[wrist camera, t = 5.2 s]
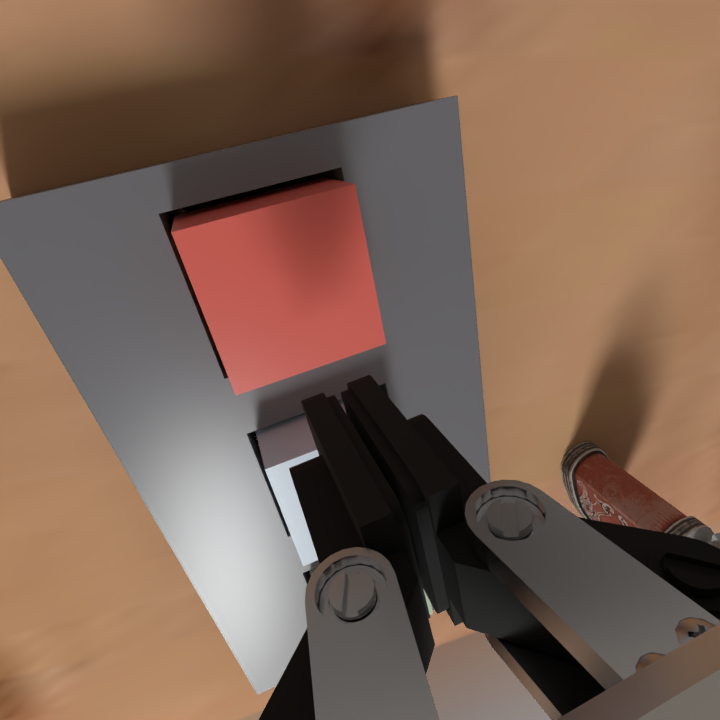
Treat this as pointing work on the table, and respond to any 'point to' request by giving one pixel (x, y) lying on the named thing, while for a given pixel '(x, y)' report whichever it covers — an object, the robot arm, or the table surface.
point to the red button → (282, 280)
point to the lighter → (621, 496)
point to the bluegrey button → (279, 453)
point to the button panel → (202, 360)
